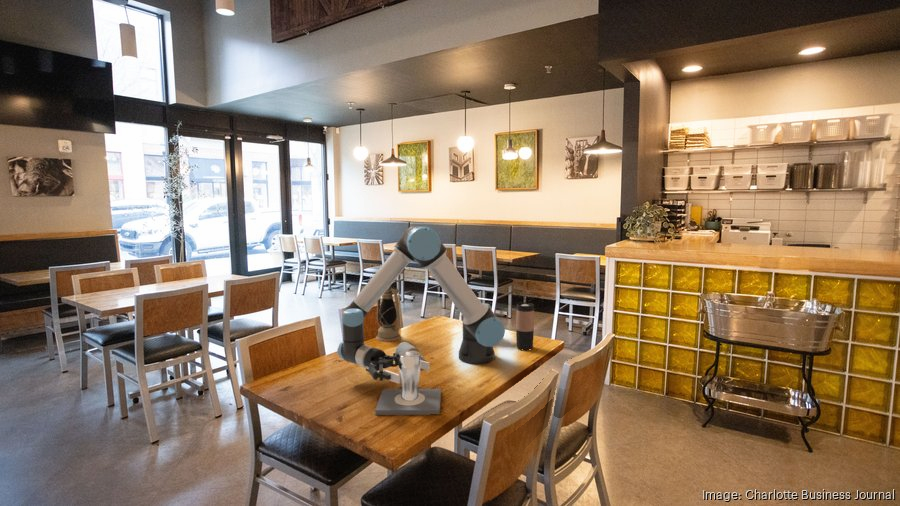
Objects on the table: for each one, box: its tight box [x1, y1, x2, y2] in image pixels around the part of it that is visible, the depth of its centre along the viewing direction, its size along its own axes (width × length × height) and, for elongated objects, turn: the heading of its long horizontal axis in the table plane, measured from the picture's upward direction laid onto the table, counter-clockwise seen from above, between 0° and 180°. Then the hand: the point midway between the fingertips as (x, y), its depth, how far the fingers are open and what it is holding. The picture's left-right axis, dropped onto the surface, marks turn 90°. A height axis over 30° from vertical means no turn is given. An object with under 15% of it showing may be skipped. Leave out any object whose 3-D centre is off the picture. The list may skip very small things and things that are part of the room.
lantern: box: [375, 282, 402, 343], centre depth 221 cm, size 14×12×30 cm
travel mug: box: [515, 302, 535, 351], centre depth 205 cm, size 8×8×20 cm
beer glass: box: [398, 351, 421, 402], centre depth 151 cm, size 7×7×15 cm
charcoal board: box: [374, 388, 442, 416], centre depth 152 cm, size 20×16×2 cm
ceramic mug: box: [394, 341, 424, 361], centre depth 190 cm, size 11×8×8 cm
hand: (414, 372), depth 149 cm, fingers open, 13 cm apart
